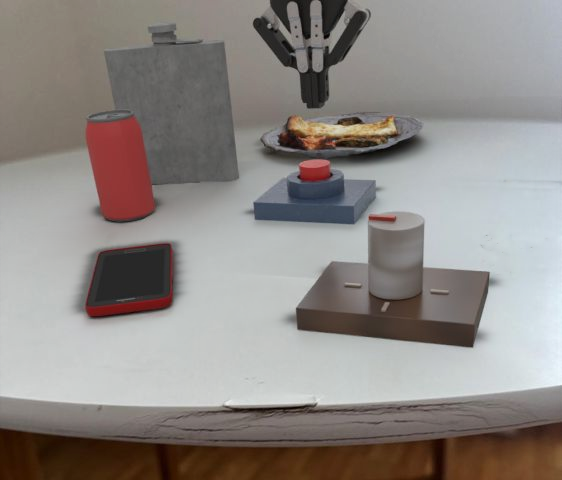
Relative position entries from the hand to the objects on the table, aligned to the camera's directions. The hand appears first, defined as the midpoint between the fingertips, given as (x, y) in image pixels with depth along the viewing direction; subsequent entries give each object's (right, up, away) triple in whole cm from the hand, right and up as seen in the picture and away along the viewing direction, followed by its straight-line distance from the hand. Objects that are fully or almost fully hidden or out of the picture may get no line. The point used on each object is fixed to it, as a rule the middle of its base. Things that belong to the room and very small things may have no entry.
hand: (316, 107), depth 77 cm
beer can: (-23, -10, +9) cm, 27 cm away
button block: (0, -10, +6) cm, 12 cm away
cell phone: (-18, -21, -10) cm, 29 cm away
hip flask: (-18, -2, +21) cm, 28 cm away
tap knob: (+5, -23, -20) cm, 31 cm away
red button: (0, -7, +4) cm, 8 cm away
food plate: (+6, +6, +32) cm, 33 cm away
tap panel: (+6, -25, -19) cm, 32 cm away
